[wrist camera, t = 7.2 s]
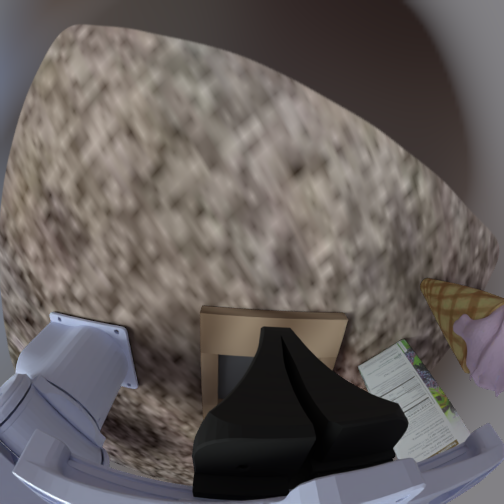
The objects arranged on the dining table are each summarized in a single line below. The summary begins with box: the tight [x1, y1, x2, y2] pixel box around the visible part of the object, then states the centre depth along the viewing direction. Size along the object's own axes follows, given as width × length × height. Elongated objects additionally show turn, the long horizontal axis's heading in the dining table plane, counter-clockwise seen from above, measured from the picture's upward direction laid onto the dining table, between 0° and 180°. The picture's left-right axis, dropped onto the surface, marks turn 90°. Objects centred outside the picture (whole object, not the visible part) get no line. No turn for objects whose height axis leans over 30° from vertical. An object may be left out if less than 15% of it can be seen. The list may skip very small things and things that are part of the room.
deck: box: [200, 306, 348, 420], centre depth 25 cm, size 12×27×1 cm, turn 175°
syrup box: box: [358, 339, 471, 463], centre depth 18 cm, size 6×6×14 cm
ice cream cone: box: [420, 278, 504, 397], centre depth 15 cm, size 7×6×15 cm
